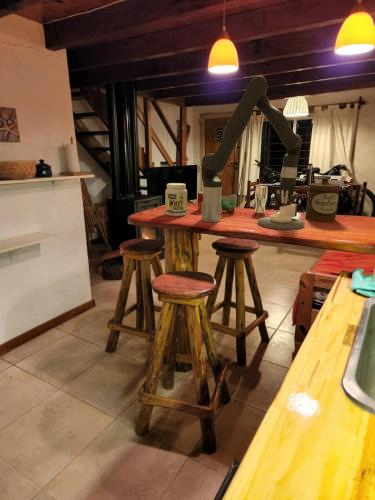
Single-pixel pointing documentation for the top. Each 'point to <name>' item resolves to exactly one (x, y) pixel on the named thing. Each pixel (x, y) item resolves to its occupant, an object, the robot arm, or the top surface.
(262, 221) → the dial base
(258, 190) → the beer glass
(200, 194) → the canned food
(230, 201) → the food container
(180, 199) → the supplement tub
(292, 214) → the dial lever
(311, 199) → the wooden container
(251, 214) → the top surface
